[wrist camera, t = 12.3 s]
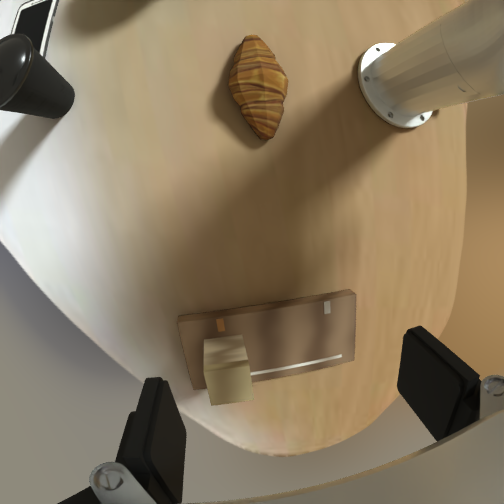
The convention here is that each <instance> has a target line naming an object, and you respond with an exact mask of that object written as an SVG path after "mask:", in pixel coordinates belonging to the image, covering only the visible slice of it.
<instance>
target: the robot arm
mask: <svg viewBox="0 0 504 504" xmlns="http://www.w3.org/2000/svg"><path fill="white" fill-rule="evenodd" d="M358 80H359V85H360V88H361V91H362V93H363V95H364V97H365V99H366V101H367V102H368V104H369V105H370V107H371V108H372V109H373V110H374V111H375V113H376V114H377V115H379V116H380V117H381V118H382V119H383V120H385V121H386V122H388V123H390V124H392V125H394V126H397V127H401V128H413V127H418V126H420V125H422V124H424V123H425V122H426V121H427V120H428V119H429V118H430V116H431V115H432V112H433V110H437V109H441V108H445V107H449V106H453V105H457V104H462V103H466V102H470V101H475V100H479V99H484V98H489V97H493V96H498V95H502V94H504V0H469V1H467V2H465V3H464V4H462V5H460V6H459V7H457V8H455V9H453V10H452V11H450V12H448V13H446V14H445V15H443V16H441V17H439V18H438V19H436V20H434V21H433V22H431V23H429V24H428V25H426V26H424V27H423V28H421V29H419V30H418V31H416V32H415V33H413V34H411V35H410V36H408V37H407V38H405V39H403V40H402V41H400V42H399V43H397V44H396V45H395V44H391V43H380V44H376V45H374V46H372V47H370V48H369V49H368V50H367V51H366V52H365V53H364V54H363V55H362V57H361V59H360V61H359V65H358ZM479 376H480V375H479V374H478V373H476V372H475V371H474V370H473V369H472V368H471V367H469V366H468V365H467V364H466V363H465V362H464V361H463V360H461V359H460V358H459V357H458V356H457V355H456V354H454V353H453V352H452V351H451V350H450V349H449V348H447V347H446V346H445V345H444V344H443V343H441V342H440V341H439V340H438V339H437V338H435V337H434V336H433V335H432V334H431V333H429V332H428V331H427V330H426V329H424V328H423V327H422V326H417V327H414V328H411V329H408V330H407V332H406V334H404V337H403V345H402V353H401V361H400V368H399V375H398V382H397V388H398V391H399V393H400V394H401V395H402V396H403V398H404V399H405V400H406V402H407V403H408V404H409V406H410V407H411V408H412V409H413V411H414V412H415V413H416V414H417V416H418V417H419V419H420V420H421V421H422V422H423V424H424V425H425V426H426V428H427V429H428V430H429V432H430V433H431V434H432V436H433V437H434V438H435V439H436V441H438V442H436V443H434V444H432V445H430V446H427V447H425V448H423V449H421V450H419V451H416V452H414V453H412V454H409V455H407V456H404V457H402V458H400V459H398V460H395V461H392V462H389V463H387V464H384V465H382V466H379V467H376V468H373V469H370V470H367V471H364V472H361V473H358V474H355V475H352V476H349V477H345V478H342V479H339V480H335V481H332V482H328V483H324V484H320V485H316V486H312V487H308V488H303V489H299V490H294V491H289V492H284V493H278V494H273V495H266V496H260V497H253V498H245V499H236V500H228V501H217V502H205V503H188V504H504V377H503V376H499V375H491V376H488V377H486V378H485V379H483V380H482V381H481V380H480V379H479ZM185 448H186V429H185V426H184V424H183V421H182V419H181V416H180V414H179V411H178V408H177V406H176V403H175V400H174V398H173V395H172V392H171V390H170V387H169V384H168V382H167V381H166V380H164V381H163V379H162V378H161V377H155V378H146V380H145V383H144V386H143V389H142V392H141V396H140V399H139V402H138V405H137V409H136V411H134V412H131V413H130V414H129V417H128V420H127V423H126V426H125V429H124V433H123V436H122V439H121V443H120V446H119V450H118V453H117V457H116V461H115V462H106V463H103V464H100V465H99V466H97V467H96V468H95V469H94V470H93V471H92V472H91V474H90V477H89V482H90V485H91V486H89V487H88V488H86V489H84V490H82V491H80V492H79V493H77V494H75V495H73V496H71V497H69V498H67V499H65V500H64V501H62V502H60V503H58V504H181V502H182V491H183V475H184V461H185Z"/></svg>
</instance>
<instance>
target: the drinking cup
mask: <svg viewBox="0 0 504 504" xmlns="http://www.w3.org/2000/svg"><path fill="white" fill-rule="evenodd" d="M74 97H75V93H74V89H73V87H72V86H71V85H70V84H69V83H68V82H67V81H66V80H65V79H64V78H63V77H62V76H61V75H60V74H59V73H58V72H57V71H56V70H55V69H54V68H53V67H52V66H51V65H50V64H49V63H48V62H47V60H46V59H45V58H44V57H43V56H42V55H41V54H40V53H39V52H38V51H37V50H36V49H35V48H34V47H33V45H32V42H31V40H30V39H29V38H28V37H27V36H26V35H24V34H20V33H15V34H11V35H8V36H6V37H4V38H2V39H1V40H0V110H4V111H11V112H17V113H23V114H30V115H36V116H41V117H47V118H53V119H56V118H59V117H62V116H63V115H65V114H66V113H67V112H68V111H69V110H70V108H71V106H72V104H73V102H74Z"/></svg>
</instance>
